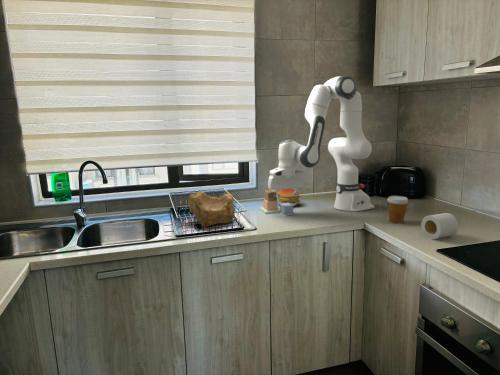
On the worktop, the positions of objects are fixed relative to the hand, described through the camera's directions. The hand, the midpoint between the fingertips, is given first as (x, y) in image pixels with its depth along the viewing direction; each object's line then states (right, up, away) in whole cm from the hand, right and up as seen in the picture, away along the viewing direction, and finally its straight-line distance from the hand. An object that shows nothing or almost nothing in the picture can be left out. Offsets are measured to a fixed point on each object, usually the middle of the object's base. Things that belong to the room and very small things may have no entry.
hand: (286, 196), depth 195 cm
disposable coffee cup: (+52, -12, -15) cm, 56 cm away
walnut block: (-8, -2, +6) cm, 10 cm away
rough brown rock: (-39, -13, -14) cm, 43 cm away
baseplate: (-8, -8, +8) cm, 14 cm away
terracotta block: (-8, -7, +7) cm, 13 cm away
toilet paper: (+62, -17, -36) cm, 74 cm away
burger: (+3, -6, +19) cm, 20 cm away
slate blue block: (0, -9, +2) cm, 9 cm away
